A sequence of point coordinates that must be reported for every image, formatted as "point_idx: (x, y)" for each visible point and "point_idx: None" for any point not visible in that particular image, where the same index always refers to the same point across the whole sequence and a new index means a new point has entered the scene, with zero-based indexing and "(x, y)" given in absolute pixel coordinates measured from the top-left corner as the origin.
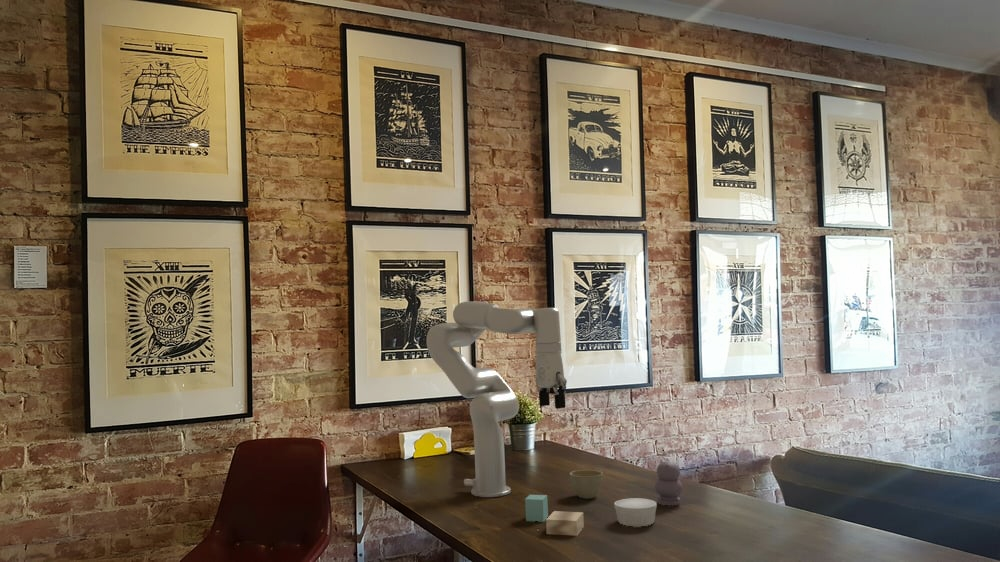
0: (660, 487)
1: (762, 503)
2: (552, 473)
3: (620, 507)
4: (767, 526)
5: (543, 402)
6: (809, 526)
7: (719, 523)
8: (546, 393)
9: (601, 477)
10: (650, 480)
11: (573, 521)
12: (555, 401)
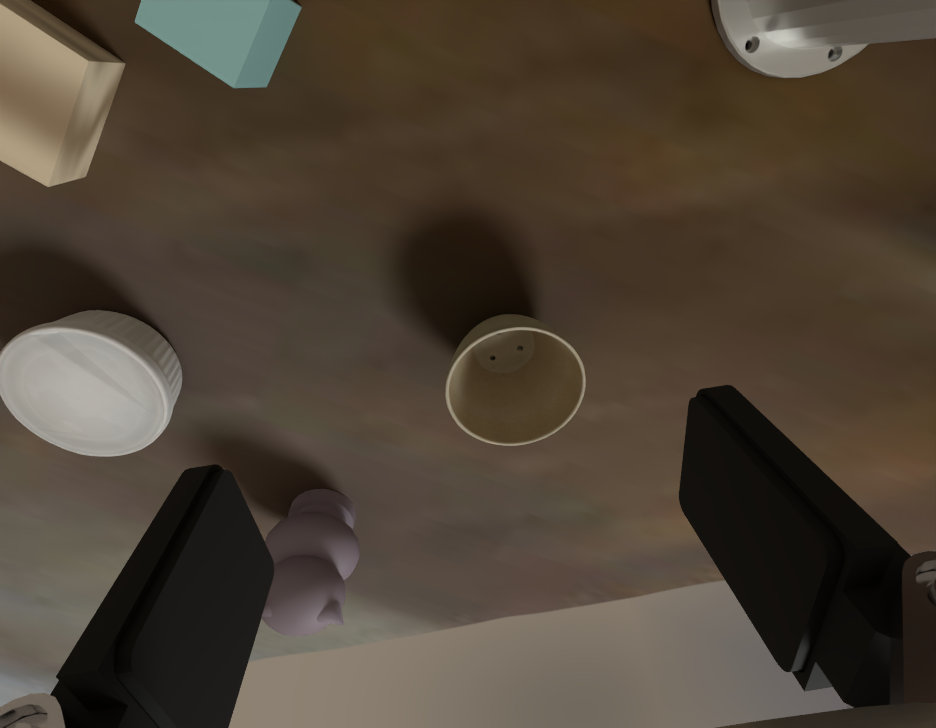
0: (284, 529)
1: (253, 655)
2: (895, 355)
3: (27, 331)
4: (46, 597)
5: (712, 459)
6: (41, 650)
7: (84, 533)
8: (788, 634)
9: (467, 424)
10: (586, 559)
11: None
12: (135, 549)
